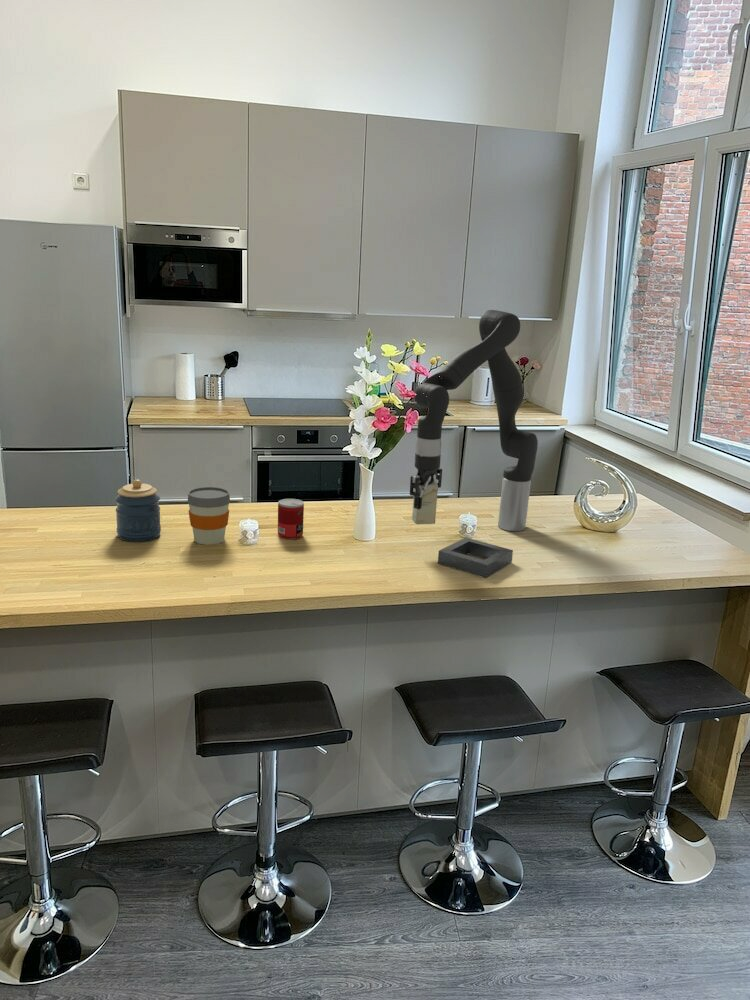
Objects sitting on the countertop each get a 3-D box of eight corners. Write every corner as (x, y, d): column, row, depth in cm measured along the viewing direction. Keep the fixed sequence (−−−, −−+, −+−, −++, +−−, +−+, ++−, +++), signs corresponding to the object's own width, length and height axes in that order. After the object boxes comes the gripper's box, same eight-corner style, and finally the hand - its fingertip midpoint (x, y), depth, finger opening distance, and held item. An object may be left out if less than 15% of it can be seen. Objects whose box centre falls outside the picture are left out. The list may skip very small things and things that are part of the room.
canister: (154, 543, 231) (152, 486, 226) (110, 541, 231) (107, 484, 226) (166, 529, 244) (164, 475, 238) (124, 527, 244) (122, 472, 238)
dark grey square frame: (464, 549, 240) (465, 537, 239) (511, 562, 231) (513, 550, 230) (437, 563, 228) (438, 550, 227) (486, 578, 219) (487, 565, 218)
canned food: (301, 540, 241) (302, 506, 237) (275, 538, 241) (276, 505, 237) (304, 532, 248) (305, 499, 245) (279, 530, 248) (279, 497, 245)
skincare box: (416, 525, 231) (418, 486, 228) (411, 520, 235) (413, 481, 232) (436, 523, 233) (438, 485, 229) (431, 519, 237) (433, 480, 233)
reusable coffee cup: (235, 534, 242) (235, 488, 238) (223, 548, 230) (223, 500, 226) (195, 531, 243) (195, 485, 239) (182, 545, 231) (181, 496, 227)
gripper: (430, 445, 235) (427, 497, 240) (403, 454, 224) (400, 508, 229) (451, 450, 231) (447, 502, 236) (425, 459, 220) (422, 514, 225)
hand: (424, 505), depth 232 cm, fingers closed on skincare box, 7 cm apart
